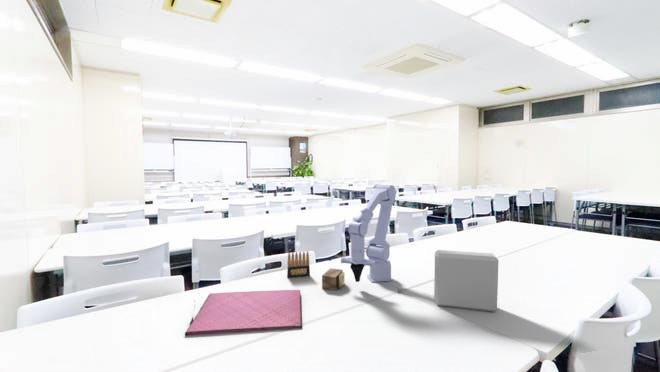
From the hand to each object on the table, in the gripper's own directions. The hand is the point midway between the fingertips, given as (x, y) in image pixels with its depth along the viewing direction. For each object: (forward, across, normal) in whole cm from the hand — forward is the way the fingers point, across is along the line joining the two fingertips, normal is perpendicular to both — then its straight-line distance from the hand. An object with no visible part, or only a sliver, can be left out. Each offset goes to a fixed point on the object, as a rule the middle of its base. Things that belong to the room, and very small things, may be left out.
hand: (357, 281), depth 129 cm
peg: (+3, -11, 0) cm, 12 cm away
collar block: (+3, -11, 0) cm, 12 cm away
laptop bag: (+4, -32, -34) cm, 47 cm away
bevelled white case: (+4, +42, -2) cm, 42 cm away
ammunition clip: (+4, -31, +5) cm, 31 cm away
